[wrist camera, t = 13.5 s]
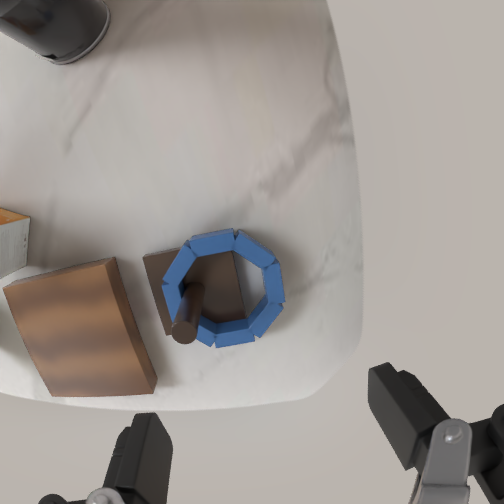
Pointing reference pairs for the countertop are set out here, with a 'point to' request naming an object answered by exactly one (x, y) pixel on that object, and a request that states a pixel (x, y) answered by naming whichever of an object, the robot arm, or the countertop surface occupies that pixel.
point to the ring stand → (197, 292)
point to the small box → (13, 241)
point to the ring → (251, 251)
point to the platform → (82, 331)
